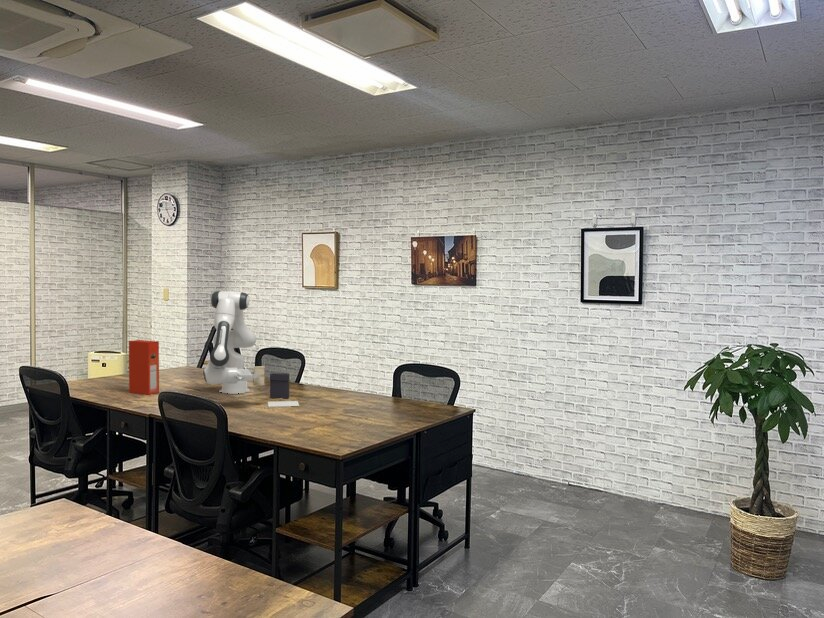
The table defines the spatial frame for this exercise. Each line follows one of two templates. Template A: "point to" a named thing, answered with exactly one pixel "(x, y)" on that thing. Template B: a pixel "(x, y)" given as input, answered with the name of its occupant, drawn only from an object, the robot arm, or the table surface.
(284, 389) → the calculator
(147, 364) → the file binder
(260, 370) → the block
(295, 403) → the mat
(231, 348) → the robot arm
